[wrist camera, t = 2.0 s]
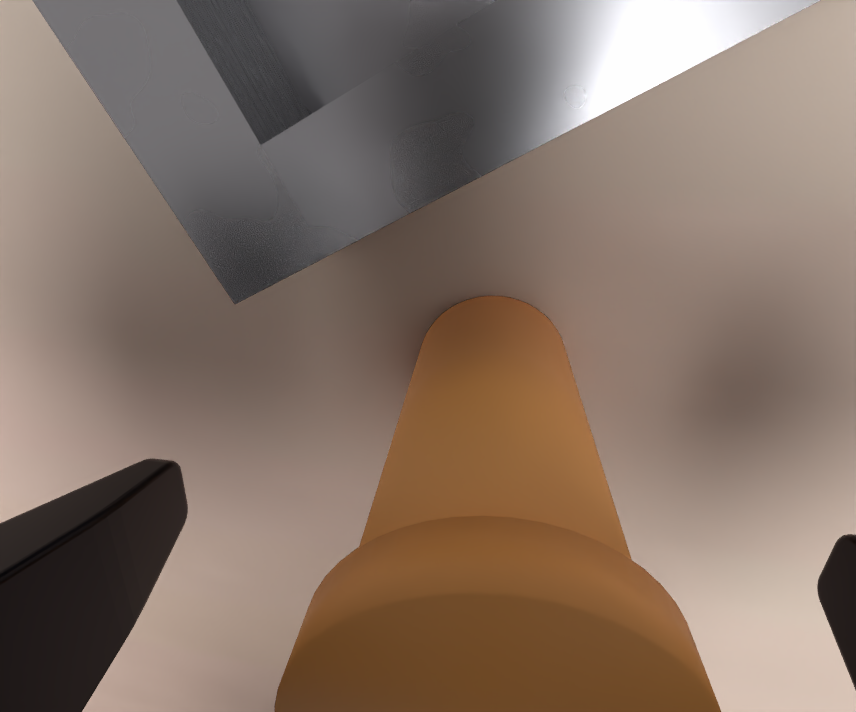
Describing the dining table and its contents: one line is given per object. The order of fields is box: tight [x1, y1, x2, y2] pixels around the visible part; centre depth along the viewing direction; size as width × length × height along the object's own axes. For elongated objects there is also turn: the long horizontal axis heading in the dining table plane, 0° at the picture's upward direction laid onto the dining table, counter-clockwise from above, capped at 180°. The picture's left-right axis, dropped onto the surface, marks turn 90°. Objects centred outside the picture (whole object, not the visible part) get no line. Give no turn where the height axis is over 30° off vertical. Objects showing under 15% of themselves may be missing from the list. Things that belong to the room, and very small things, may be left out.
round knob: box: [275, 296, 721, 712], centre depth 8 cm, size 4×4×8 cm
